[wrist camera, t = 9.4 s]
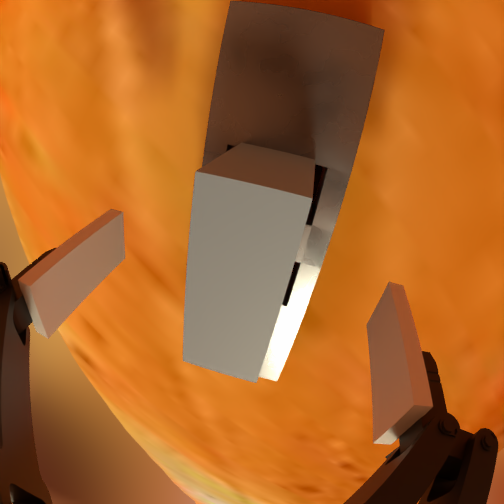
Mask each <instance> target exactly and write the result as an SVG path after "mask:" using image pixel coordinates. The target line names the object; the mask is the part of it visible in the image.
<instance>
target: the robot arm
mask: <svg viewBox="0 0 504 504" xmlns="http://www.w3.org/2000/svg"><path fill="white" fill-rule="evenodd" d="M124 259H125V247H124V225H123V212H121V211H117V210H113V209H110V210H109V211H107V212H106V213H105V214H103V215H102V216H100V217H99V218H97V219H96V220H94V221H93V222H92V223H90V224H89V225H87V226H86V227H85V228H83V229H82V230H80V231H79V232H78V233H76V234H75V235H74V236H72V237H71V238H70V239H68V240H67V241H66V242H64V243H63V244H62V245H60V246H59V247H58V248H54V249H51V250H49V251H47V252H45V253H44V254H42V255H41V256H40V257H39V258H38V260H37V259H36V260H35V261H34V262H32V264H30V265H29V266H27V267H26V268H25V269H24V270H23V271H21V272H20V273H19V274H18V275H17V276H15V277H14V278H13V279H12V280H11V277H10V274H9V271H8V268H7V265H6V264H5V263H3V262H0V504H12V503H13V504H52V500H51V497H50V494H49V491H48V489H47V487H46V485H45V483H44V482H43V480H42V478H41V475H40V472H39V467H38V461H37V455H36V449H35V443H34V435H33V426H32V417H31V403H30V384H29V383H30V382H29V346H30V329H29V327H28V326H29V325H30V323H32V322H33V324H34V326H35V329H36V332H38V333H40V334H41V335H43V336H45V337H46V338H49V337H50V336H51V335H52V334H53V333H54V332H55V331H56V329H57V328H58V327H59V326H60V325H61V324H62V323H63V322H64V321H65V320H66V318H67V317H68V316H69V315H70V314H71V313H72V312H73V311H74V310H75V309H76V308H77V307H78V305H79V304H80V303H81V302H82V301H83V300H84V299H85V298H86V297H87V296H88V295H89V294H90V293H91V292H92V291H93V290H94V289H95V288H96V287H97V286H98V285H99V284H100V283H101V282H102V281H103V279H104V278H105V277H106V276H107V275H108V274H109V273H110V272H111V271H112V270H113V269H114V268H115V267H117V266H118V265H119V264H120V263H121V262H122V261H123V260H124ZM367 333H368V343H369V355H370V368H371V383H372V405H373V443H378V444H392V443H393V442H394V441H396V440H397V439H398V438H399V442H400V446H399V447H398V448H397V449H395V450H394V451H393V452H391V453H390V454H389V455H387V456H386V458H388V459H387V460H386V461H385V462H384V463H383V464H382V465H381V466H380V468H379V469H378V470H377V471H376V472H375V473H374V474H373V475H372V476H371V477H370V478H369V479H368V480H367V481H366V482H365V483H364V484H363V485H362V486H361V487H360V488H359V489H358V490H357V491H356V492H355V493H354V494H353V495H352V496H351V497H350V498H349V499H348V500H347V501H346V502H345V503H344V504H417V502H418V501H419V500H420V501H419V503H418V504H486V502H487V499H488V495H489V491H490V487H491V483H492V478H493V473H494V469H495V463H496V458H497V452H498V441H497V437H496V436H495V434H494V433H493V432H492V431H491V430H490V429H487V428H483V429H480V430H479V431H478V432H476V433H475V434H472V433H469V432H467V431H464V430H462V429H460V426H459V423H458V421H457V420H456V418H455V417H454V416H453V415H451V414H449V413H447V409H446V404H445V399H444V394H443V390H442V385H441V383H440V377H439V375H438V369H437V365H436V362H435V360H434V359H433V357H432V355H431V354H430V352H424V351H421V347H420V343H419V339H418V335H417V331H416V327H415V324H414V320H413V317H412V313H411V310H410V306H409V303H408V300H407V296H406V293H405V290H404V287H403V285H399V284H395V283H392V282H389V283H388V285H387V287H386V289H385V291H384V293H383V295H382V297H381V299H380V301H379V303H378V305H377V307H376V308H375V310H374V312H373V314H372V316H371V318H370V320H369V322H368V323H367ZM420 498H421V499H420Z"/></svg>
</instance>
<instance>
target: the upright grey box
mask: <svg viewBox="0 0 504 504" xmlns="http://www.w3.org/2000/svg"><path fill="white" fill-rule="evenodd" d="M314 173H315V160H314V159H311V158H307V157H303V156H299V155H295V154H291V153H286V152H282V151H278V150H273V149H269V148H264V147H260V146H255V145H250V144H245V143H240V144H239V145H237V146H235V147H234V148H232V149H230V150H229V151H227V152H225V153H224V154H222V155H221V156H219V157H217V158H216V159H214V160H213V161H211V162H209V163H208V164H206V165H205V166H203V167H202V168H200V169H198V170H197V171H196V173H195V182H194V191H193V201H192V211H191V222H190V233H189V245H188V259H187V274H186V290H185V310H184V336H183V361H185V362H188V363H191V364H194V365H197V366H200V367H203V368H206V369H210V370H213V371H216V372H219V373H223V374H226V375H230V376H233V377H236V378H240V379H244V380H247V381H251V382H255V383H256V382H257V380H258V377H259V374H260V371H261V368H262V365H263V362H264V359H265V356H266V353H267V350H268V347H269V344H270V341H271V337H272V334H273V331H274V328H275V325H276V322H277V319H278V315H279V312H280V309H281V306H282V303H283V299H284V296H285V293H286V290H287V286H288V283H289V280H290V276H291V273H292V270H293V266H294V263H295V259H296V256H297V253H298V249H299V246H300V242H301V239H302V235H303V232H304V228H305V224H306V221H307V217H308V214H309V210H310V206H311V203H312V199H313V187H314Z"/></svg>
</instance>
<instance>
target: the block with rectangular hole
mask: <svg viewBox="0 0 504 504" xmlns="http://www.w3.org/2000/svg"><path fill="white" fill-rule="evenodd" d="M383 35H384V30H383V29H380V28H377V27H374V26H371V25H367V24H364V23H360V22H357V21H353V20H350V19H346V18H342V17H338V16H334V15H330V14H325V13H320V12H316V11H311V10H305V9H300V8H294V7H287V6H280V5H273V4H264V3H254V2H242V1H230V6H229V11H228V15H227V20H226V25H225V30H224V35H223V40H222V45H221V50H220V55H219V61H218V66H217V72H216V78H215V83H214V89H213V95H212V102H211V108H210V114H209V121H208V128H207V135H206V142H205V149H204V157H203V165H202V167H203V166H205V165H206V164H208V163H209V162H211V161H213V160H214V159H216V158H217V157H219V156H221V155H222V154H224V153H225V152H227V151H229V150H230V149H232V148H234V147H235V146H237V145H239V144H240V143H245V144H250V145H255V146H260V147H264V148H269V149H273V150H278V151H282V152H286V153H291V154H295V155H299V156H303V157H307V158H311V159H314V160H315V164H316V165H320V166H323V169H322V173H321V177H320V181H319V184H318V188H317V192H316V196H315V199H314V203H311V206H310V210H309V214H308V217H307V221H306V224H305V228H304V232H303V235H302V239H301V242H300V246H299V249H298V253H297V256H296V259H295V262H297V263H296V266H295V269H294V273H293V274H291V276H290V280H289V283H288V286H287V290H286V293H285V296H284V299H283V303H282V306H281V309H280V312H279V315H278V319H277V322H276V325H275V328H274V331H273V334H272V337H271V341H270V344H269V347H268V350H267V353H266V356H265V359H264V362H263V365H262V368H261V371H260V374H259V377H262V378H266V379H270V380H274V381H277V380H278V378H279V375H280V373H281V371H282V368H283V366H284V363H285V361H286V358H287V356H288V354H289V351H290V349H291V346H292V344H293V341H294V339H295V336H296V333H297V331H298V328H299V326H300V323H301V321H302V318H303V315H304V313H305V310H306V307H307V305H308V302H309V299H310V297H311V294H312V291H313V288H314V286H315V283H316V280H317V277H318V274H319V271H320V269H321V266H322V263H323V260H324V257H325V254H326V251H327V248H328V245H329V242H330V239H331V236H332V233H333V230H334V227H335V224H336V220H337V217H338V214H339V211H340V208H341V204H342V201H343V198H344V194H345V191H346V188H347V184H348V181H349V178H350V174H351V171H352V167H353V163H354V160H355V156H356V153H357V149H358V145H359V141H360V138H361V134H362V130H363V126H364V122H365V118H366V114H367V110H368V106H369V101H370V97H371V93H372V89H373V84H374V80H375V75H376V70H377V66H378V61H379V56H380V51H381V46H382V40H383Z"/></svg>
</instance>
